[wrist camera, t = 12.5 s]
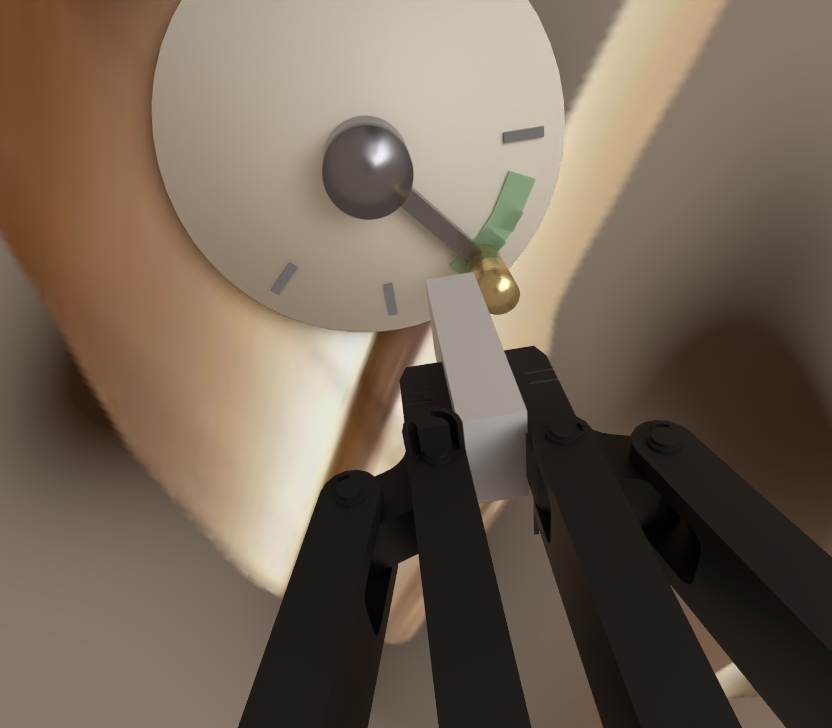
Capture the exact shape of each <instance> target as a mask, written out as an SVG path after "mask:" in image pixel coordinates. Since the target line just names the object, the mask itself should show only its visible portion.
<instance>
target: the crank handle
mask: <svg viewBox="0 0 832 728" xmlns="http://www.w3.org/2000/svg"><path fill="white" fill-rule="evenodd" d="M413 178H414V171H413V164H412V160H411V158H410V155H409V152H408V149H407V146H406V144H405V141H404V139H403V137H402V136H401V134H400V133H399V132H398V130H397V129H396V128H395V127H394V126H392V125H391V124H390V123H388V122H387V121H385V120H383V119H381V118H378V117H374V116H356V117H353V118H350V119H348V120H346V121H344V122H342V123H341V124H340V125H339V126H337V127H336V128H335V130H334V131H333V132H332V133H331V135H330V136H329V138H328V140H327V143H326V146H325V150H324V158H323V166H322V179H323V184H324V187H325V190H326V193H327V195H328V197H329V198H330V200H331V201H332V202H333V203H334V205H335V206H336V207H337V208H339V209H340V210H341V211H342V212H344V213H346V214H347V215H349V216H352V217H354V218H358V219H364V220H374V219H379V218H383V217H385V216H388V215H390V214H391V213H393V212H395V211H396V210H397V209H398V208H399V207H400V206H401V207H402V208H403V209H404V210H405V211H407V212H408V213H409V214H410V215H411V216H413V217H414V218H415V219H416V220H417V221H419V222H420V223H421V224H422V225H423V226H424V227H426V228H427V229H428V230H429V231H430V232H432V233H433V234H434V235H435V236H436V237H437V238H439V239H440V240H441V241H442V242H443V243H445V244H446V245H447V246H448V247H449V248H451V249H452V250H453V251H454V252H455V253H456V254H458V255H459V256H460V257H461V258H462V259H464V260H465V266H466V269H467V272H468V273H470V272H474V275H475V277H476V280H477V282H478V285H479V287H480V290H481V293H482V295H483V298H484V300H485V303H486V306H487V308H488V311H489V313H490V314H494V315H500V314H504V313H507V312H509V311H510V310H512V309H513V308H514V307H515V306H516V304H517V303H518V301H519V297H520V291H519V288H518V286H517V284H516V282H515V281H514V279H513V277H512V275H511V273H510V271H509V270H508V268H507V266H506V264H505V262H504V260H503V259H502V257H501V255H500V253H499V251H498V250H497V249H496V248H495V247H494V246H492V245H490V244H479V245H478V244H477V243H476V242H475V241H473V240H472V239H471V238H470V237H469V236H468V235H467V234H465V233H464V232H463V231H462V230H461V229H460V228H459V227H457V226H456V225H455V224H454V223H453V222H452V221H450V220H449V219H448V218H447V217H446V216H445V215H444V214H442V213H441V212H440V211H439V210H438V209H437V208H436V207H434V206H433V205H432V204H431V203H430V202H429V201H428V200H426V199H425V198H424V197H423V196H422V195H421V194H420V193H418V192H417V191H416V190H415V189H414V188H413V187H412V185H413Z"/></svg>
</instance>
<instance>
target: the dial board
mask: <svg viewBox="0 0 832 728" xmlns="http://www.w3.org/2000/svg"><path fill="white" fill-rule="evenodd" d="M356 116H374V117H378V118H381V119H383V120H385V121H387V122H388V123H390V124H391V125H392V126H394V127H395V128H396V129H397V130H398V132H399V133H400V134H401V136H402V137H403V139H404V141H405V144H406V146H407V149H408V152H409V155H410V158H411V160H412V164H413V171H414V178H413V185H412V187H413V188H414V189H415V190H416V191H417V192H418V193H420V194H421V195H422V196H423V197H424V198H425V199H426V200H428V201H429V202H430V203H431V204H432V205H433V206H434V207H436V208H437V209H438V210H439V211H440V212H441V213H442V214H444V215H445V216H446V217H447V218H448V219H449V220H450V221H452V222H453V223H454V224H455V225H456V226H457V227H459V228H460V229H461V230H462V231H463V232H464V233H465V234H467V235H468V236H469V237H470V238H471V239H472V240H473V241H475V242H476V243H477V244H478V245H479V244H490V245H492V246H494V247H495V248H496V249H497V250H498V251H499V253H500V255H501V257H502V259H503V260H504V262H505V264H506V266H507V268H508V269H509V268H510V267H511V266H512V264H513V263H514V262H515V261H516V259H517V258H518V257H519V256H520V254H521V253H522V252H523V251H524V249H525V248H526V247H527V245H528V243H529V242H530V240H531V239H532V237H533V235H534V234H535V232H536V231H537V229H538V227H539V225H540V223H541V221H542V219H543V217H544V215H545V212H546V210H547V208H548V206H549V204H550V201H551V198H552V195H553V192H554V189H555V186H556V183H557V179H558V174H559V169H560V164H561V160H562V155H563V143H564V130H565V122H564V99H563V93H562V87H561V81H560V76H559V70H558V67H557V64H556V61H555V57H554V54H553V51H552V47H551V44H550V41H549V40H548V37H547V35H546V33H545V31H544V28H543V26H542V24H541V22H540V19H539V17H538V15H537V14H536V12H535V10H534V9H533V7H532V6H531V4H530V2H529V1H528V0H181V2H180V4H179V6H178V7H177V9H176V11H175V13H174V15H173V16H172V19H171V21H170V24H169V26H168V29H167V32H166V34H165V37H164V39H163V42H162V45H161V48H160V52H159V57H158V61H157V66H156V70H155V74H154V83H153V95H152V126H153V139H154V144H155V150H156V156H157V161H158V166H159V169H160V172H161V175H162V179H163V182H164V185H165V188H166V191H167V194H168V196H169V198H170V200H171V202H172V205H173V207H174V209H175V211H176V213H177V216H178V217H179V219H180V221H181V222H182V224H183V226H184V227H185V229H186V231H187V232H188V234H189V236H190V237H191V239H192V240H193V242H194V243H195V244H196V245H197V247H198V248H199V249H200V251H201V252H202V253H203V254H204V256H205V257H206V258H207V259H208V261H209V262H210V263H211V264H212V265H213V266H214V267H215V268H216V269H217V270H218V271H219V272H220V273H221V274H222V275H223V276H224V277H225V278H226V279H228V280H229V281H230V282H231V283H233V284H234V285H235V286H236V287H238V288H239V289H240V290H241V291H242V292H244V293H245V294H247V295H248V296H250V297H251V298H253V299H255V300H256V301H258V302H259V303H261V304H262V305H264V306H266V307H268V308H270V309H272V310H274V311H276V312H278V313H280V314H282V315H284V316H286V317H289V318H292V319H295V320H298V321H300V322H303V323H306V324H310V325H314V326H318V327H322V328H327V329H332V330H340V331H349V332H379V331H388V330H397V329H401V328H406V327H410V326H415V325H419V324H422V323H424V322H427V321H430V320H431V319H430V312H429V304H428V297H427V290H426V282H425V280H426V279H432V278H439V277H445V276H451V275H457V274H464V273H468V272H467V269H466V266H465V260H464V259H462V258H461V257H460V256H459V255H458V254H456V253H455V252H454V251H453V250H452V249H451V248H449V247H448V246H447V245H446V244H445V243H443V242H442V241H441V240H440V239H439V238H437V237H436V236H435V235H434V234H433V233H432V232H430V231H429V230H428V229H427V228H426V227H424V226H423V225H422V224H421V223H420V222H419V221H417V220H416V219H415V218H414V217H413V216H411V215H410V214H409V213H408V212H407V211H405V210H404V209H403V208H402V207H401V206H400V207H399V208H398V209H397V210H396V211H395V212H393V213H391V214H390V215H388V216H385V217H383V218H379V219H374V220H364V219H358V218H354V217H352V216H349V215H347V214H346V213H344V212H342V211H341V210H340V209H339V208H337V207H336V206H335V205H334V203H333V202H332V201H331V200H330V198H329V197H328V195H327V193H326V190H325V187H324V184H323V179H322V166H323V158H324V150H325V146H326V143H327V140H328V138H329V136H330V135H331V133H332V132H333V131H334V130H335V128H336V127H337V126H339V125H340V124H341V123H342V122H344V121H346V120H348V119H350V118H353V117H356Z"/></svg>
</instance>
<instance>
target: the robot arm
mask: <svg viewBox="0 0 832 728" xmlns="http://www.w3.org/2000/svg"><path fill="white" fill-rule="evenodd" d="M425 282H426V290H427V297H428V304H429V312H430V319H431V327H432V334H433V342H434V349H435V355H436V360H437V363H431V364H425V365H419V366H413V367H406V368H405V370H404V372H403V374H402V376H401V379H400V388H401V396H402V405H403V414H404V424H403V430H402V434H403V439H404V444H405V449H406V452H405V455H404V457H403V458H402V460H401V461H400V462H399V463H398V464H397V465H396V466H394V467H393V468H391V469H390V470H388V471H386V472H384V473H382V474H379V475H377V476H373V475H371V474H370V473H368V472H366V471H360V470H351V471H345V472H342V473H340V474H338V475H335V476H334V477H333V478H331V479H330V480H329V481H328V482H327V483H326V484H325V485H324V487H323V489H322V490H321V492H320V495H319V497H318V500H317V503H316V506H315V509H314V512H313V515H312V517H311V520H310V523H309V526H308V529H307V532H306V535H305V537H304V540H303V543H302V546H301V549H300V552H299V555H298V557H297V560H296V563H295V566H294V569H293V572H292V575H291V577H290V580H289V583H288V586H287V589H286V592H285V595H284V597H283V600H282V603H281V606H280V609H279V612H278V615H277V617H276V620H275V623H274V626H273V629H272V632H271V635H270V637H269V640H268V643H267V646H266V649H265V652H264V655H263V658H262V660H261V663H260V666H259V669H258V672H257V675H256V678H255V680H254V683H253V686H252V689H251V692H250V695H249V697H248V700H247V704H246V706H245V709H244V712H243V715H242V717H241V720H240V723H239V726H238V728H368V723H369V718H370V712H371V707H372V702H373V696H374V691H375V686H376V681H377V675H378V670H379V665H380V660H381V654H382V649H383V644H384V638H385V633H386V628H387V622H388V617H389V612H390V606H391V601H392V596H393V591H394V585H395V580H396V575H397V569H398V563H400V562H402V561H404V560H406V559H408V558H411V557H413V556H415V555H417V554H419V562H420V571H421V579H422V588H423V597H424V605H425V614H426V622H427V631H428V639H429V648H430V656H431V665H432V673H433V682H434V690H435V699H436V707H437V716H438V724H439V728H531V724H530V719H529V715H528V711H527V707H526V703H525V698H524V694H523V690H522V686H521V681H520V677H519V673H518V669H517V665H516V661H515V656H514V652H513V648H512V643H511V639H510V635H509V631H508V627H507V622H506V618H505V614H504V610H503V605H502V601H501V597H500V593H499V589H498V584H497V580H496V576H495V572H494V567H493V563H492V559H491V555H490V550H489V547H488V542H487V538H486V533H485V529H484V525H483V521H482V517H481V512H480V508H479V504H480V503H486V502H492V501H498V500H504V499H511V498H516V497H523V496H528V495H529V491H528V489H529V488H528V483H529V486H530V489H531V492H532V495H533V498H534V500H533V501H534V534H539V531H540V534H541V537H542V539H543V543H544V546H545V549H546V552H547V555H548V558H549V561H550V564H551V567H552V571H553V574H554V576H555V580H556V583H557V586H558V589H559V592H560V595H561V598H562V602H563V605H564V608H565V611H566V614H567V617H568V620H569V623H570V626H571V629H572V633H573V635H574V639H575V642H576V645H577V648H578V651H579V654H580V657H581V660H582V663H583V667H584V669H585V673H586V676H587V679H588V682H589V685H590V688H591V691H592V694H593V697H594V700H595V704H596V707H597V710H598V712H599V716H600V719H601V722H602V725H603V728H742V727H741V725H740V723H739V721H738V719H737V717H736V715H735V713H734V711H733V709H732V707H731V705H730V703H729V701H728V699H727V697H726V695H725V693H724V691H723V689H722V687H721V685H720V683H719V681H718V679H717V677H716V675H715V673H714V671H713V669H712V667H711V666H710V663H709V661H708V659H707V657H706V655H705V653H704V652H703V649H702V647H701V645H700V643H699V642H698V640H697V638H696V635H695V634H694V632H693V630H692V627H691V625H690V624H689V622H688V620H687V618H686V616H685V614H684V612H683V610H682V608H681V606H680V604H679V602H678V600H677V598H676V596H675V594H674V592H673V590H672V588H671V586H672V587H673V588H674V589H675V591H676V592H677V593H678V594H679V596H680V597H681V598H682V599H683V600H684V602H685V603H686V604H687V606H688V607H689V608H690V609H691V610H692V612H693V613H694V614H695V615H696V617H697V618H698V619H699V620H700V622H701V623H702V624H703V625H704V627H705V628H706V629H707V630H708V632H709V633H710V634H711V635H712V636H713V638H714V639H715V640H716V641H717V643H718V644H719V645H720V646H721V648H722V649H723V650H724V651H725V653H726V654H727V655H728V656H729V657H730V659H731V660H732V661H733V662H734V664H735V665H736V666H737V667H738V669H739V670H740V671H741V672H742V674H743V675H744V676H745V677H746V679H747V680H748V681H749V682H750V684H751V685H752V686H753V687H754V688H755V690H756V691H757V692H758V693H759V695H760V696H761V697H762V698H763V700H764V701H765V702H766V703H767V705H768V706H769V707H770V708H771V709H772V711H773V712H774V713H775V714H776V716H777V717H778V718H779V719H780V721H781V722H782V723H783V724H784V726H785V727H786V728H832V557H831V556H830V555H828V554H827V553H826V552H825V551H824V550H823V549H822V548H820V547H819V546H818V545H817V544H816V543H815V542H814V541H813V540H812V539H810V538H809V537H808V536H807V535H806V534H805V533H804V532H803V531H801V530H800V529H799V528H798V527H797V526H796V525H795V524H794V523H792V522H791V521H790V520H789V519H788V518H787V517H786V516H785V515H783V514H782V513H781V512H780V511H779V510H778V509H777V508H776V507H774V506H773V505H772V504H771V503H770V502H769V501H768V500H767V499H765V498H764V497H763V496H762V495H761V494H760V493H759V492H758V491H756V490H755V489H754V488H753V487H752V486H751V485H749V483H747V482H746V481H745V480H744V479H743V478H742V477H741V476H740V475H738V474H737V473H736V472H735V471H734V470H733V469H732V468H731V467H729V466H728V465H727V464H726V463H725V462H724V461H723V460H722V459H720V458H719V457H718V456H717V455H716V454H715V453H714V452H713V451H711V450H710V449H709V448H708V447H707V446H706V445H705V444H704V443H702V442H701V441H700V440H699V439H698V438H697V437H696V436H694V435H693V434H692V433H691V432H690V431H689V430H687V429H685V428H684V427H682V426H681V425H678V424H675V423H672V422H669V421H658V420H654V421H649V422H644V423H642V424H641V425H639V426H637V427H636V428H635V429H634V431H633V433H632V434H631V436H625V435H613V434H606V433H601V432H598V431H595V430H592V429H591V427H590V426H589V425H588V424H587V423H586V422H585V421H584V420H582V419H580V418H578V417H576V415H575V413H574V411H573V409H572V407H571V405H570V403H569V401H568V399H567V397H566V395H565V393H564V391H563V388H562V386H561V384H560V382H559V381H558V379H557V376H556V374H555V372H554V370H553V368H552V366H551V364H550V362H549V360H548V358H547V356H546V355H545V354H544V353H543V352H541V351H540V350H539V349H537V348H536V347H535V346H530V347H523V348H517V349H511V350H505V351H504V350H503V347H502V345H501V342H500V339H499V337H498V334H497V332H496V329H495V326H494V324H493V321H492V319H491V316H490V313H489V311H488V308H487V306H486V303H485V300H484V298H483V295H482V293H481V290H480V287H479V285H478V282H477V280H476V277H475V275H474V272H470V273H464V274H457V275H451V276H445V277H439V278H432V279H426V280H425ZM669 583H670V584H669ZM670 585H671V586H670Z"/></svg>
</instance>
